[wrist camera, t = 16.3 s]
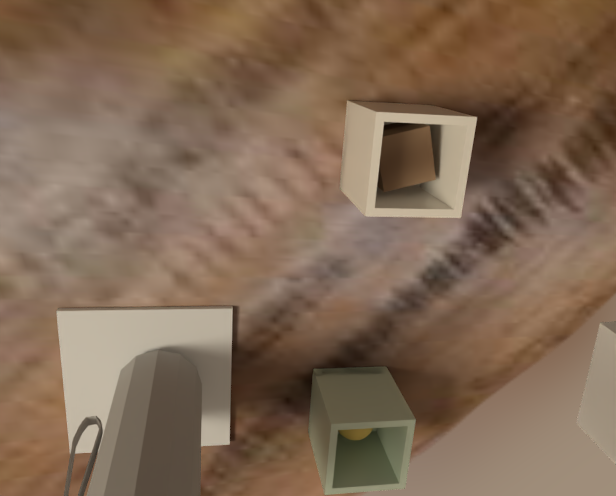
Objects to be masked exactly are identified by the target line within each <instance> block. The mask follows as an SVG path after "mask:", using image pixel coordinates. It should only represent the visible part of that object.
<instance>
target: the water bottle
mask: <svg viewBox="0 0 616 496" xmlns="http://www.w3.org/2000/svg"><path fill="white" fill-rule="evenodd" d="M201 418H202V383H201V380H200V377H199V374H198V371H197V368H196V366H195V365H193V364H192V363H191V362H190V361H188V360H187V359H186V358H185V357H183V356H182V355H181V354H178V353H172V352H167V351H162V350H156V351H152V352H148V353H144V354H141V355H137V356H135V357H134V358H133V359H132V360H131V361H130V362H129V363H128V364H127V365H126V366H125V367H123V368H122V369H121V371H120V375H119V378H118V382H117V386H116V389H115V393H114V397H113V400H112V404H111V408H110V412H109V415H108V419H107V423H106V426H105V430H104V434H103V428H102V422H101V420H100V419H99V418H98V417H97V416H91V417H85V419H84V420H83V421H82V423H81V424H80V426H79V427H78V430H77V432H76V434H75V436H74V438H73V441H72V447H71V454H70V460H69V466H68V472H67V479H66V485H65V491H64V496H68V493H69V487H70V481H71V474H72V468H73V462H74V456H75V450H76V446H77V444H78V442H79V440H80V437H81V435H82V433H83V432H84V431H85V429H86V428H87V427H88V426H89V425H94V424H97V426H98V428H99V431H98V434H97V437H96V440H95V443H94V447H93V450H92V453H91V456H90V459H89V462H88V465H87V468H86V472H85V475H84V478H83V481H82V484H81V487H80V490H79V493H78V496H83V495H84V492H85V489H86V486H87V483H88V480H89V477H90V474H91V471H92V468H93V465H94V462H95V458H96V455H97V452H98V449H99V446H100V449H99V452H98V456H97V460H96V463H95V467H94V471H93V475H92V478H91V482H90V486H89V489H88V493H87V496H200V476H201ZM102 434H103V438H102ZM101 439H102V441H101ZM100 443H101V445H100Z"/></svg>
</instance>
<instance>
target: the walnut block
mask: <svg viewBox="0 0 616 496" xmlns="http://www.w3.org/2000/svg"><path fill="white" fill-rule="evenodd" d="M432 180H436V177H435V168H434V159H433V150H432V141H431V132H430V126H428V125H426V124H420V123H399V122H396V123H392V124H387V125H384V127H383V137H382V146H381V155H380V164H379V173H378V182H377V187H379V188H380V189H381V190H382V191H383V192H387V191H391V190H395V189H399V188H403V187H407V186H412V185H416V184H420V183H424V182H428V181H432Z"/></svg>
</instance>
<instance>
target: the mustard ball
mask: <svg viewBox="0 0 616 496" xmlns="http://www.w3.org/2000/svg"><path fill="white" fill-rule="evenodd" d="M372 430H373V428H367V429H349V430H338V431H339V433H340V434H341V435H342V436H343V437H345V438H347V439H349V440H361V439H364V438H365V437H367V436H368V435H369V434H370V433H371V431H372Z"/></svg>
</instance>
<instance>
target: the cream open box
mask: <svg viewBox="0 0 616 496" xmlns="http://www.w3.org/2000/svg"><path fill="white" fill-rule="evenodd" d="M396 122H399V123H420V124H426V125H428V126H430V132H431V141H432V150H433V159H434V168H435V177H436V180H432V181H428V182H424V183H420V184H416V185H412V186H407V187H403V188H399V189H395V190H391V191H387V192H383V191H382V190H381V189H380V188H379V187H377V182H378V173H379V164H380V155H381V146H382V137H383V127H384V125H387V124H392V123H396ZM476 122H477V117H475V116H471V115H468V114H464V113H460V112H456V111H452V110H449V109H445V108H441V107H437V106H433V105H420V104H401V103H383V102H365V101H347V109H346V120H345V132H344V143H343V155H342V166H341V178H340V189H341V191H342V192H343V193H344V194H345V195H346V196H347V197H348V198H349V199H350V200H351V201H352V202H353V204H354V205H355V206H356V207H357V208H358V209H359V210H360V211H361V212H362V213H363V214H364V215H365V216H375V217H437V218H461V213H462V207H463V201H464V195H465V189H466V183H467V177H468V170H469V164H470V158H471V152H472V146H473V140H474V134H475V128H476Z"/></svg>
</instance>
